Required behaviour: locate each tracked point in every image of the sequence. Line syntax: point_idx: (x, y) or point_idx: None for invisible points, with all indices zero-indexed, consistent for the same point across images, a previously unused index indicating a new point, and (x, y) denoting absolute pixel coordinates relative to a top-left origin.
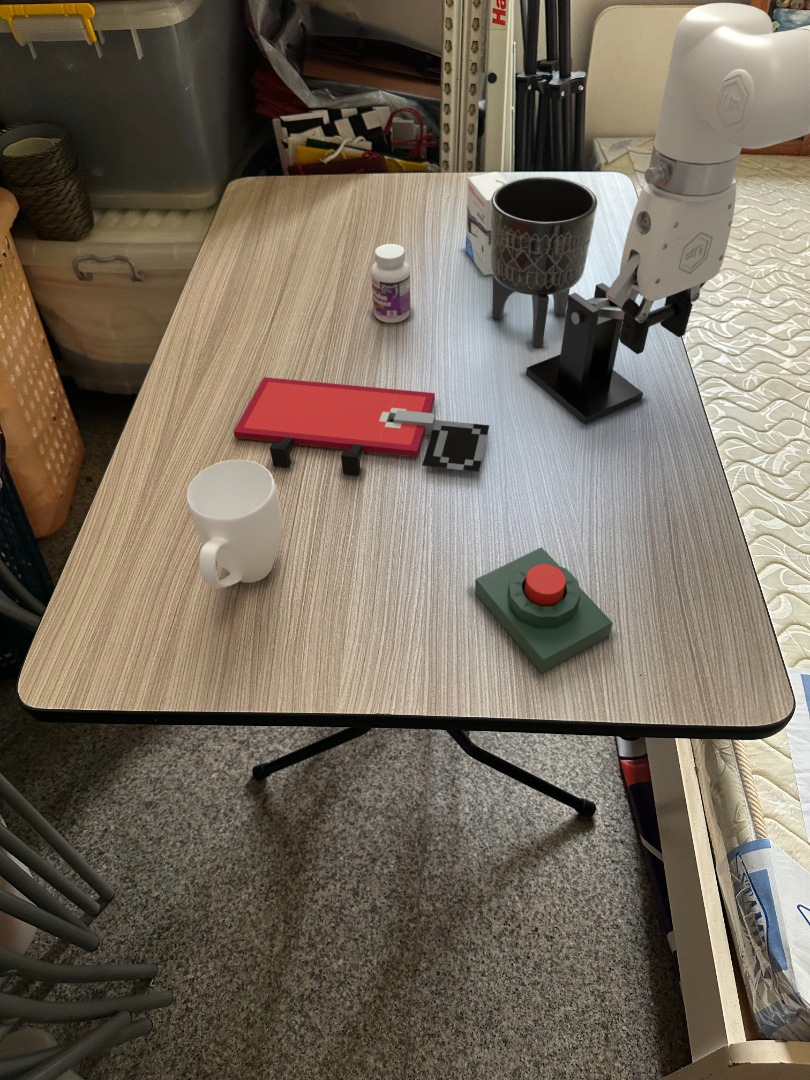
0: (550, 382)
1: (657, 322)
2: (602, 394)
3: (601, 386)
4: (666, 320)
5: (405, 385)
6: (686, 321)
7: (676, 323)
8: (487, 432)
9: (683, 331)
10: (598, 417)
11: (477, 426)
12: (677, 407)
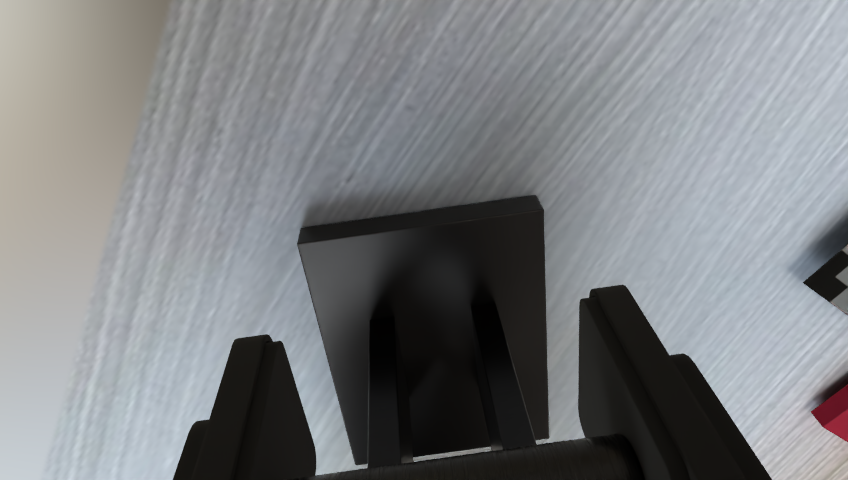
0: (532, 372)
1: (487, 462)
2: (426, 281)
3: (407, 312)
4: (304, 468)
5: (812, 468)
6: (228, 418)
7: (280, 427)
8: (830, 259)
9: (247, 358)
10: (483, 205)
11: (831, 289)
12: (200, 155)
